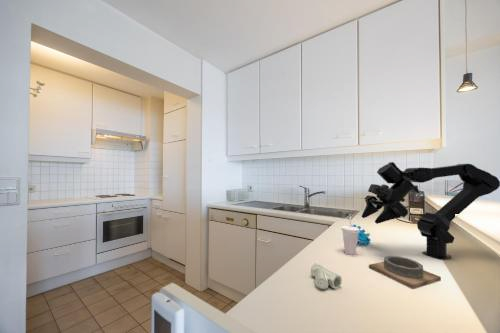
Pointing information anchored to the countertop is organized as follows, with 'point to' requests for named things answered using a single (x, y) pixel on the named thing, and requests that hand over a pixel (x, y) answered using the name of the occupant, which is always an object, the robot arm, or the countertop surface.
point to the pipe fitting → (325, 277)
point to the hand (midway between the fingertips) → (368, 219)
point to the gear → (363, 236)
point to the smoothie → (350, 238)
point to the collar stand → (405, 271)
